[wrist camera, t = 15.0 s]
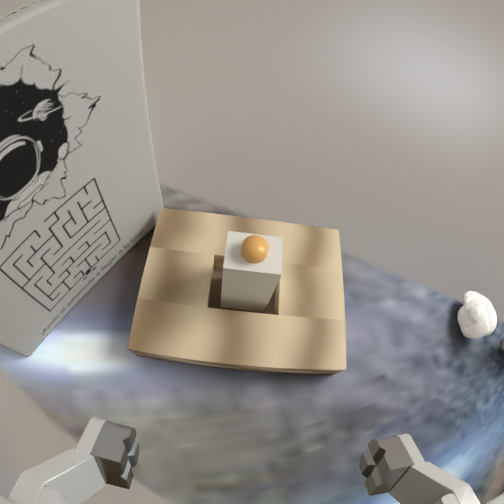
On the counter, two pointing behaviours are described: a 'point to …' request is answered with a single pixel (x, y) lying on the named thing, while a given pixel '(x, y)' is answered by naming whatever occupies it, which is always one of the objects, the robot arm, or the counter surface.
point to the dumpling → (476, 316)
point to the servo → (250, 270)
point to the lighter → (503, 345)
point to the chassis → (236, 320)
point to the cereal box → (69, 157)
